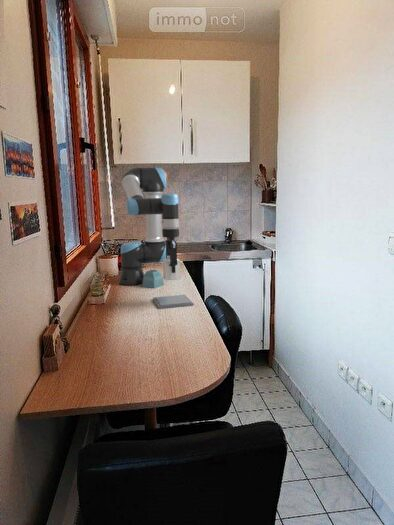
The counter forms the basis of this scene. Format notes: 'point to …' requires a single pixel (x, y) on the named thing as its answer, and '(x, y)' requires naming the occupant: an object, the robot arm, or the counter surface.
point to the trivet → (172, 301)
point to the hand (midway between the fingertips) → (171, 278)
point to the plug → (167, 269)
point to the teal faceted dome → (152, 279)
